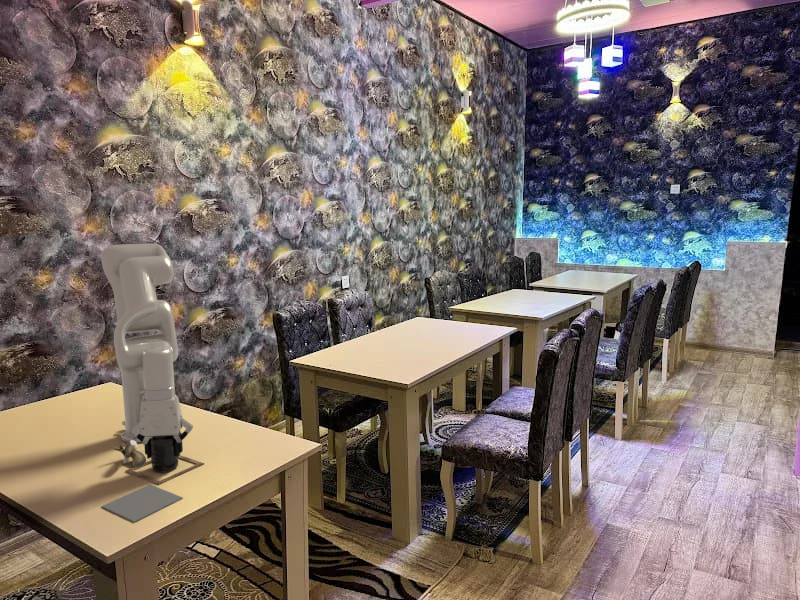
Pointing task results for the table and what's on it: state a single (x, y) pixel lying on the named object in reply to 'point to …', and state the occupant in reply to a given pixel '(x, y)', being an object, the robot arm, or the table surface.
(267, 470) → the table surface
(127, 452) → the eagle figurine
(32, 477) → the table surface
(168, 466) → the supplement bottle
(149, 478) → the frame
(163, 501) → the mat
